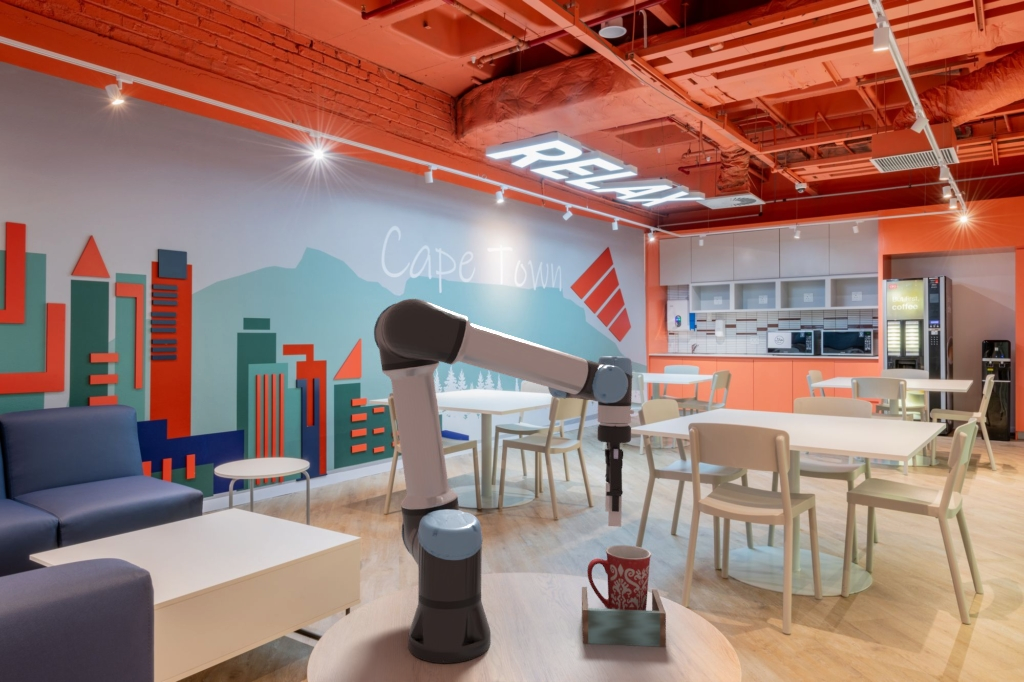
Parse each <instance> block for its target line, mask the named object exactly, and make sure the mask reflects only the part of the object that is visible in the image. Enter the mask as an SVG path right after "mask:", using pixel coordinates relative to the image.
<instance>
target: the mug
mask: <svg viewBox="0 0 1024 682" xmlns="http://www.w3.org/2000/svg"><path fill="white" fill-rule="evenodd" d="M605 553H606V559H602V558H594V559H592V560H591V561H590V562H589V563H588V565H587V570H586V571H587V578H588V582H589V585H590V587H591V589H592V590H593V591H594V593H595V595H596V596H597V597H598V598H597V599H598V600H600V602H601V603H602V604H603V605H604V606H605V609H622V610H647V604H648V603H647V602H648V589H649V577H650V564H651V563H650V562H651V557H652V553H651V551H650V550H648V549H647V548H644V547H640V546H636V545H628V544H627V545H626V544H623V545H622V544H619V545H611V546H608V547H607V548H606V550H605ZM596 565H602V567H603V568H604V572H605V573H606V575H607V593H608V594H607V598H605V597H604V596H603V595H602V593H601V592H600V591H599V589H598V588H597V586H596V585H595V582H594V580H593V573H592V572H593V568H594V567H595V566H596Z"/></svg>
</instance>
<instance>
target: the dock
mask: <svg viewBox="0 0 1024 682" xmlns="http://www.w3.org/2000/svg"><path fill="white" fill-rule="evenodd" d="M658 590H659V589H658V588H657V589H656V588H655V589H651V610H647V609H646V610H622V609H607V608H595V607H594V608H593V607H589V601H588V599H589V598H588V586H581V631H582V634H581V635H582V644H596V645H597V644H598V645H601V644H602V645H621V646H638V647H639V646H643V647H662V648H664V647H665V648H666V647H667V631H666V630H667V629H666V628H667V621H666V620H667V619H666V618H667V613H666V609H665V608H664V604H663V601H662V599H661V597H660V593H659V591H658Z"/></svg>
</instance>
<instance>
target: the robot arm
mask: <svg viewBox="0 0 1024 682" xmlns="http://www.w3.org/2000/svg"><path fill="white" fill-rule="evenodd" d="M376 319H377V320H376V321H375V325H374V327H373V338H374V341H375V344H376V346H377V349H378V350H379V357H380V364H381V369H382V371H381V372H382V373H383V374H385V375H386V376H387V377H388V378H389V379H390V380H391V381H390V382H391V388H392V395H393V403H394V410H395V416H396V418H395V419H396V423H397V432H398V439H399V446H400V454H401V459H402V466H403V467H402V468H403V474H404V480H405V481H404V483H405V488H406V489H405V490H406V496H405V497H404V498H403V499H402V501H401V502H400V508H401V514H402V524H401V538H402V542H403V545H404V547H405V549H406V550H407V552H408V553H409V554H410V555H411V556H412V558H413V559H414V562H415V563H416V564H417V568H418V588H417V590H418V593H417V594H418V595H417V596H418V598H417V601H418V602H417V606H416V609H415V612H414V616H413V618H412V621H411V625H410V628H409V632H408V642H407V643H408V650H409V651H410V653H411V655H413V656H414V657H416V658H418V659H420V660H423V661H426V662H427V661H428V662H431V663H440V664H441V663H442V664H452V663H461V662H466V661H469V660H473V659H476V658H478V657H480V656H481V655H484V654H485V653H486V652H487V651H488V650H489V648H490V647H491V641H492V640H491V637H492V635H491V629H490V624H489V621H488V618H487V615H486V612H485V608H484V606H483V602H482V561H483V560H482V557H483V555H482V546H483V539H484V538H483V532H482V525H481V522H480V520H479V518H477V517H476V516H475V515H474V514H472V513H470V512H466V511H465V512H464V511H463V510H460V506H459V499H458V493H457V492H456V491H454V490H453V489H451V488H450V486H449V479H448V473H447V465H446V458H445V451H444V444H443V436H442V429H441V421H440V414H439V409H438V400H437V392H436V386H435V378H434V373H435V371H436V369H437V368H438V366H439V365H440V362H441V363H445V364H448V365H454V364H456V363H457V362H460V363H463V364H467V365H471V366H473V367H478V368H481V369H484V370H487V371H492V372H495V373H499V374H502V375H504V376H509V377H513V378H516V379H520V380H523V381H526V382H530V383H533V384H537V385H541V386H543V387H547V389H548V392H549V394H550V395H551V397H553V398H556V399H564V400H566V399H577V400H583V401H584V400H585V401H593V402H597V422H598V423H599V424H598V425H597V440H598V441H599V442H601V443H606V445H605V446H606V448H605V449H604V457H605V459H604V460H605V464H606V466H605V476H604V477H605V482H606V483H605V505H604V506H605V509H604V510H605V512H608V521H607V523H608V524H607V525H608V527H618V528H619V527H622V504H623V503H622V501H623V500H622V499H623V497H622V495H623V492H624V491H623V472H622V471H623V464H624V463H623V460H624V450H623V449H622V448H621V444H628V443H630V442H631V440H632V426H631V425H629V424H631V422H632V415H634V413H635V411H634V409H632V389H633V388H632V387H633V378H634V377H633V365H632V360H631V358H630V357H628V356H607V355H605V356H604V355H603V356H602V355H601V356H600V357H599V358H598V362H595V361H593V360H588V359H585V358H583V357H580V356H577V355H573V354H570V353H567V352H563V351H561V350H557V349H555V348H550V347H548V346H544V345H541V344H538V343H535V342H532V341H528V340H526V339H523V338H519V337H516V336H513V335H509V334H506V333H503V332H500V331H497V330H493V329H490V328H487V327H484V326H480V325H477V324H474V323H472V322H470V319H469V318H468V316H466V315H463V314H460V313H457V312H455V311H452V310H449V309H447V308H444V307H441V306H439V305H437V304H434V303H432V302H430V301H427V300H424V299H419V298H407V299H403V300H401V301H398V302H397V303H396V302H395V303H392V304H391V305H388V306H387V307H386V308H385V309H383V311H382V312H381V313H380V314H379V315H378V317H377V318H376Z"/></svg>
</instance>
